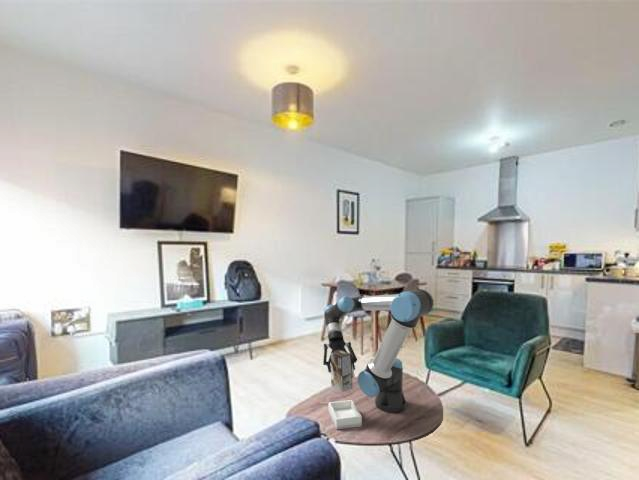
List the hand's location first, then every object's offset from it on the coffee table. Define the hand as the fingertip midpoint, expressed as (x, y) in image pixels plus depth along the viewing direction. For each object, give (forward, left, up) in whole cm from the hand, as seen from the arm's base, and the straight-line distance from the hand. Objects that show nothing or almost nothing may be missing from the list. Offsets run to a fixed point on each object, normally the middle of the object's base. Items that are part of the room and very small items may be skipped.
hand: (343, 378), depth 147 cm
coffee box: (0, -3, -6) cm, 7 cm away
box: (0, 0, -19) cm, 19 cm away
